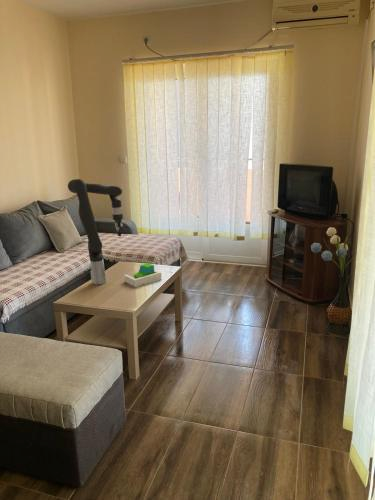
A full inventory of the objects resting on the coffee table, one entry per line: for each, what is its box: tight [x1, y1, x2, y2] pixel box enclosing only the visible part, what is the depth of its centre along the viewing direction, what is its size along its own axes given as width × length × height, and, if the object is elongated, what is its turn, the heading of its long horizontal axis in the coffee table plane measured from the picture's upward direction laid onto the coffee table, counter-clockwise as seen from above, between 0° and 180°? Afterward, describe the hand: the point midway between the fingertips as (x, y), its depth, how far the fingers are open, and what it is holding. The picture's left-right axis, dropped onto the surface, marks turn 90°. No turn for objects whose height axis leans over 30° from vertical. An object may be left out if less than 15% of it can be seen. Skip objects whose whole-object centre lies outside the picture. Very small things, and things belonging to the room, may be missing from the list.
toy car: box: [133, 262, 155, 279], centre depth 288 cm, size 10×13×10 cm
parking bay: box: [123, 269, 162, 288], centre depth 286 cm, size 22×15×5 cm
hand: (119, 236), depth 298 cm, fingers closed
